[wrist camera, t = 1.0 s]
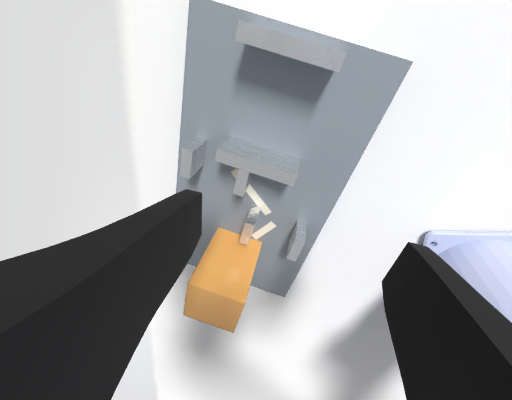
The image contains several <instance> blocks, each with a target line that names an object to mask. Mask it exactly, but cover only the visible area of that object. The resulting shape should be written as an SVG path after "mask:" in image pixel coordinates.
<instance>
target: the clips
mask: <svg viewBox="0 0 512 400" xmlns="http://www.w3.org/2000/svg"><path fill="white" fill-rule="evenodd" d="M206 146H207V139H205V138H202V137H199V136H198V137H196V138H195V139H194V140H192V141H191V142H190V143H188V144H187V145H186V146H184V147H183V148H182V154H181V167H180V176H182V177H185V178H188V179H190V178H191V177H192V176H193V175H194V174H195V173H196V172H197V171H198V170H199V169H200V168H201V167H202V166H203V165H204V160H205V153H206ZM252 175H253V173H250V172H247V171H244V170H241V169H238V173H237V177H236V182H235V186H234V190H233V194H235V195H238V196H241V197H243V196H244V194H245V192H246V190H247V188H248V186H249V184H250V182H251V179H252ZM260 209H261V207H258V206H257V205H254V204H252V207H251V209H250V211H249V214H248V216H247V219H246V221H245V224H244V227H243V231H242V234H241V238H240V241H239V242H240V243H243V244H246V245H248V244H249V241H250V238H251V235H252V233H253V230H254V227H255V224H256V221H257V218H258V215H259V212H260ZM305 237H306V222H305V221H302V220H299V219H298V220H297V222H296V224H295V226H294V229H293V231H292V233H291V235H290V238H289V244H288V251H287V258H286V259H289V260H292V261H295V262H296V260H297V258H298V256H299V254H300V252H301V250H302V248H303V246H304V244H305Z"/></svg>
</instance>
